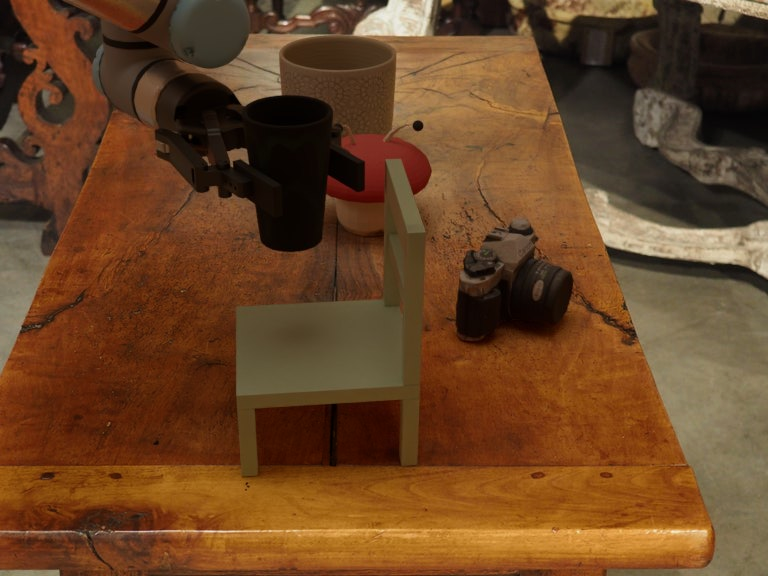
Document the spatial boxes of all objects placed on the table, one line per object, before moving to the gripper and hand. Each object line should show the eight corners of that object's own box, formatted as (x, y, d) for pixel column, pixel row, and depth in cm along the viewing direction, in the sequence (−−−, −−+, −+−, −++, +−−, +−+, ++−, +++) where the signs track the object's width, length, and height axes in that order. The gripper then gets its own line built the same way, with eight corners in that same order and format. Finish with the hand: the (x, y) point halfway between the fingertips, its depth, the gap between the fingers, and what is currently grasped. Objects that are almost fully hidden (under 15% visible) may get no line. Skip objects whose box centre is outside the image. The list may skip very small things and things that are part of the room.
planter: (317, 182, 152) (315, 78, 144) (262, 143, 164) (258, 45, 157) (416, 158, 160) (419, 58, 152) (357, 122, 172) (357, 28, 165)
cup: (326, 215, 100) (324, 92, 94) (341, 253, 93) (340, 123, 87) (243, 222, 98) (236, 97, 92) (253, 261, 92) (246, 130, 86)
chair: (241, 477, 96) (225, 240, 84) (240, 381, 109) (226, 164, 97) (417, 465, 98) (426, 231, 86) (396, 372, 111) (401, 158, 99)
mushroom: (324, 258, 132) (322, 145, 125) (298, 204, 146) (295, 99, 138) (445, 244, 136) (450, 133, 129) (409, 193, 149) (412, 90, 142)
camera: (531, 364, 113) (539, 281, 108) (444, 337, 117) (448, 256, 112) (584, 299, 125) (594, 222, 120) (503, 276, 129) (510, 201, 124)
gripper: (279, 123, 112) (415, 199, 97) (95, 168, 101) (215, 262, 86) (276, 53, 108) (418, 120, 93) (85, 93, 98) (209, 176, 82)
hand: (320, 188), depth 89 cm, fingers closed on cup, 8 cm apart
